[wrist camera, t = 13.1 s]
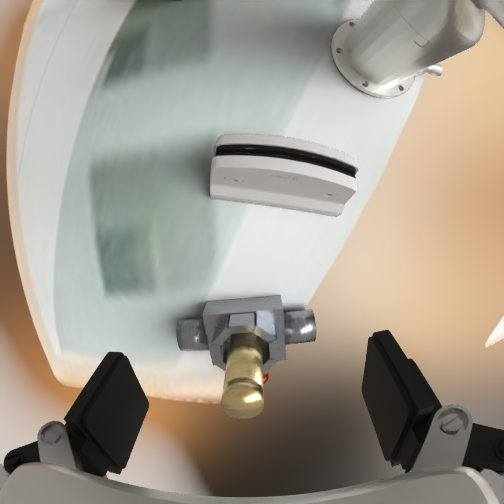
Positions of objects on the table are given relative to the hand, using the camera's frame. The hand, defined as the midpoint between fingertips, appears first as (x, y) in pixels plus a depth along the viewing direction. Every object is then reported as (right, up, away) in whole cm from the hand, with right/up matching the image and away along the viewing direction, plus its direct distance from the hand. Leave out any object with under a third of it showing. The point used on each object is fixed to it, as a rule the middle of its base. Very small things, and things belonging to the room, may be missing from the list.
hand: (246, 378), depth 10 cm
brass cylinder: (-1, -6, +25) cm, 26 cm away
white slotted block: (+4, +14, +24) cm, 28 cm away
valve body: (0, -7, +30) cm, 31 cm away
